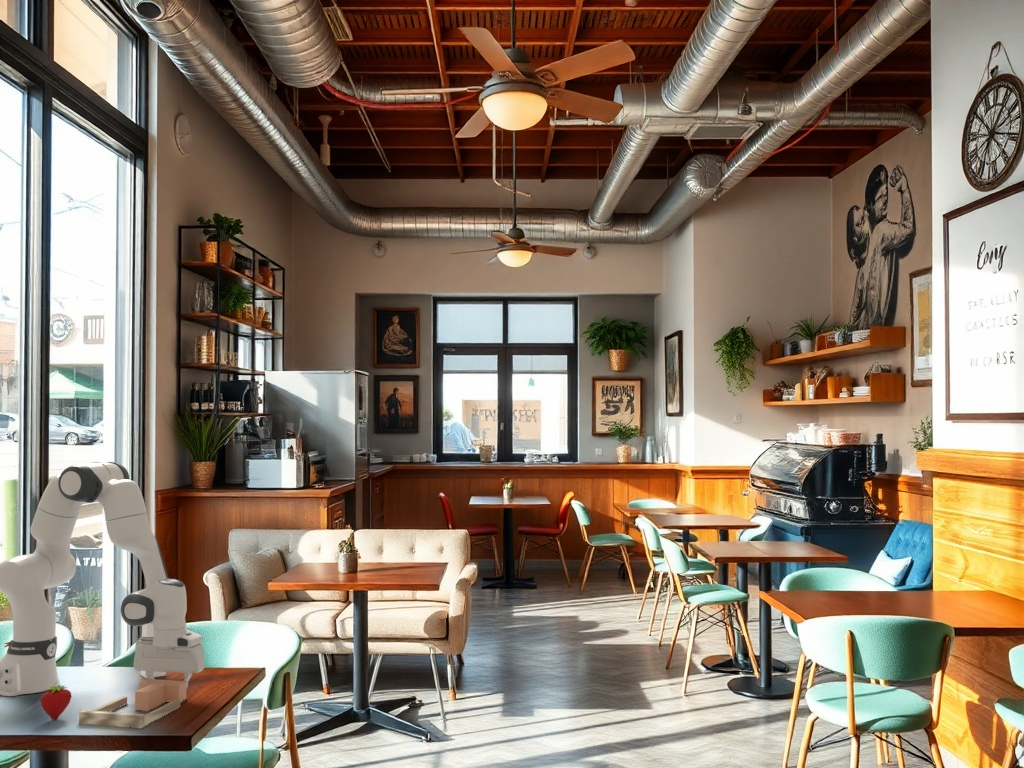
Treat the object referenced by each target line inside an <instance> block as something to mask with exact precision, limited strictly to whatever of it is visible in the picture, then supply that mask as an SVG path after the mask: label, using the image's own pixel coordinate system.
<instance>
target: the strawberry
mask: <svg viewBox="0 0 1024 768" xmlns="http://www.w3.org/2000/svg"><path fill="white" fill-rule="evenodd" d="M55 684H56V683H55ZM55 684H54V685H55ZM50 688H51V689H47V690H45V691H44V692H45V693H43V695H41V698H40V704H41V708H42V709H43V710H44V713H45V714H47V716H49V717H50V719H51V720H54V721H55V720H58V719H59V717H60V716H61V715H62V714H63V712H64V711H66V709H67V707H68V706H69V704H70V702H71V699H72V692H71V691H70V690H69V689H67V688H68V687H65V685H61V686H60V685H59V686H56V687H55V686H54V687H50Z"/></svg>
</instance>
